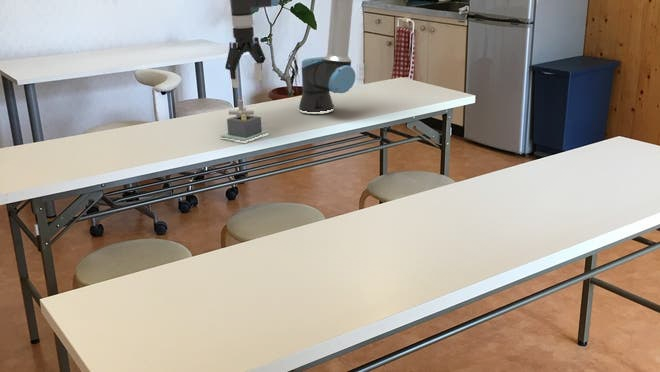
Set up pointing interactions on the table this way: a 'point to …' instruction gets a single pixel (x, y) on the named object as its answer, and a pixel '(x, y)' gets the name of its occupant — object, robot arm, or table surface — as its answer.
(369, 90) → the table surface
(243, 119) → the keeper board
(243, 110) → the pipe connector
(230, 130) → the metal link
